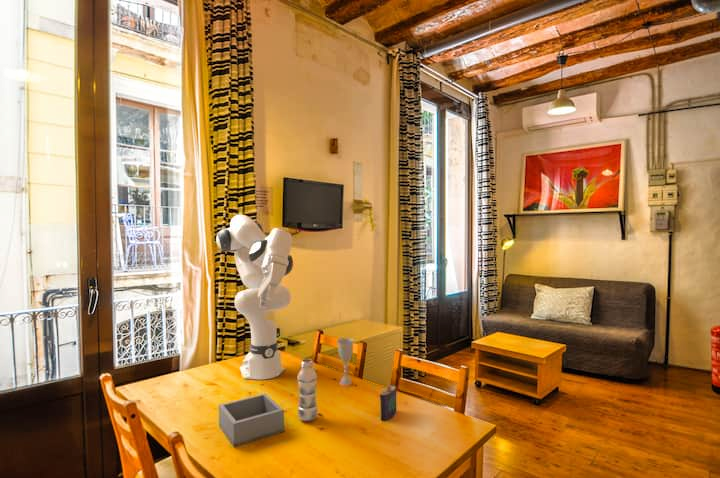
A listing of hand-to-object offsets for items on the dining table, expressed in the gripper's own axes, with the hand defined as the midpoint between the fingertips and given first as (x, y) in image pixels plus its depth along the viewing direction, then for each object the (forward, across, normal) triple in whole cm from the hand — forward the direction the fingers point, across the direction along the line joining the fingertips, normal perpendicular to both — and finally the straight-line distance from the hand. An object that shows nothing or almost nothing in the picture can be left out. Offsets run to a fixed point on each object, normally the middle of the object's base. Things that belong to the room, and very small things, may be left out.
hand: (265, 303), depth 139 cm
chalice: (+14, -28, +45) cm, 55 cm away
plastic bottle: (+33, -8, +24) cm, 42 cm away
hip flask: (+29, +2, +50) cm, 58 cm away
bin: (+38, -11, +7) cm, 40 cm away
